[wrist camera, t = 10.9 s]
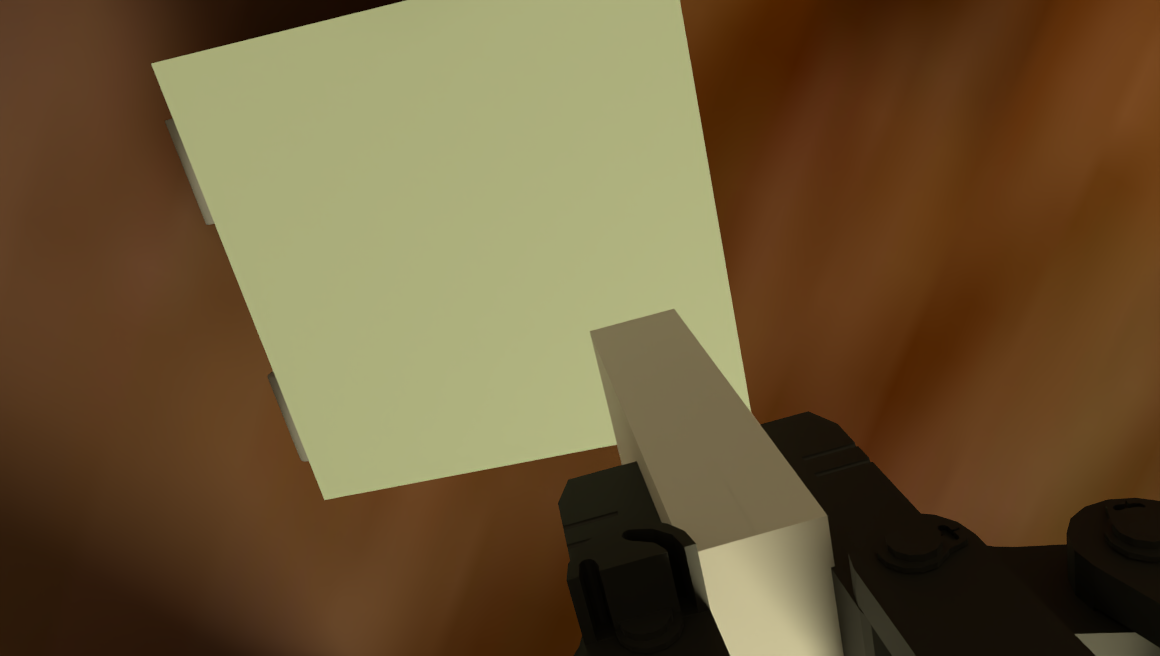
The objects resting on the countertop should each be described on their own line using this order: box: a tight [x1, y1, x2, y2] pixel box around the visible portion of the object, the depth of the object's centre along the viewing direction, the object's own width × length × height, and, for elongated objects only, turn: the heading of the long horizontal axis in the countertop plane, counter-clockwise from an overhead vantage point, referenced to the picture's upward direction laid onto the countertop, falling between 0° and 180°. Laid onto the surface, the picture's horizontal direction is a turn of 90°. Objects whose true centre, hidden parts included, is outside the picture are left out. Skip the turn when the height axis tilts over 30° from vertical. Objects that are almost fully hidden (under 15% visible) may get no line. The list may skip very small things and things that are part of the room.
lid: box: [151, 0, 751, 500], centre depth 25 cm, size 14×14×1 cm
